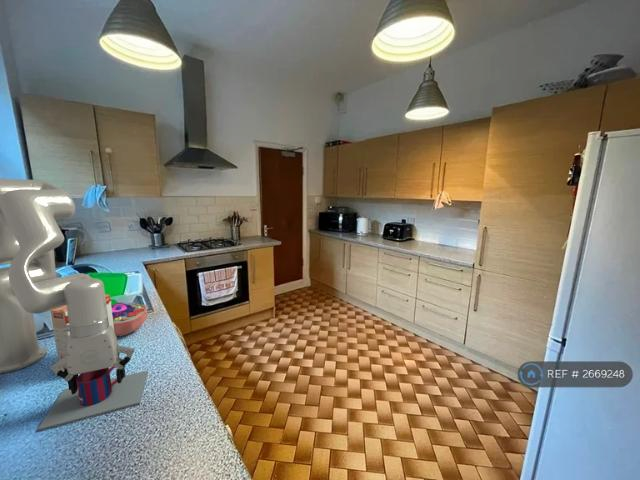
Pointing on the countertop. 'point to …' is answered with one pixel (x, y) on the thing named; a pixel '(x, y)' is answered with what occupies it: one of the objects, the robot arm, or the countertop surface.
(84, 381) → the mug
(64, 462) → the countertop surface
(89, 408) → the rubber mat
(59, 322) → the cracker box
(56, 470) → the countertop surface
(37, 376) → the countertop surface
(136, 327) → the cell model
